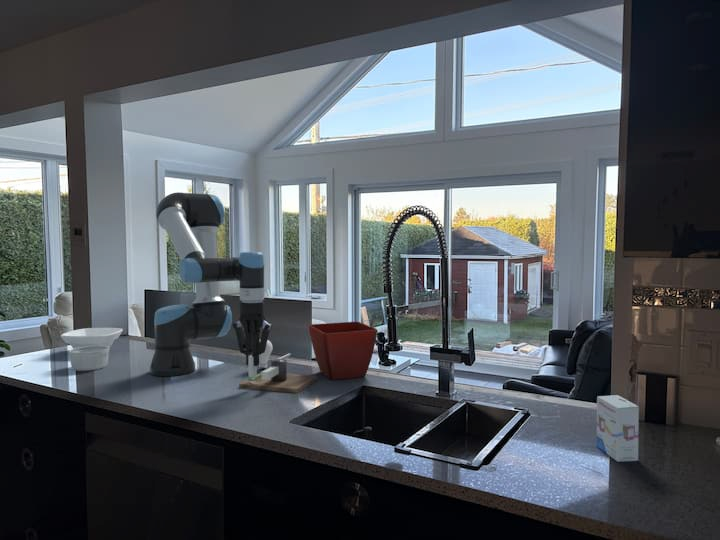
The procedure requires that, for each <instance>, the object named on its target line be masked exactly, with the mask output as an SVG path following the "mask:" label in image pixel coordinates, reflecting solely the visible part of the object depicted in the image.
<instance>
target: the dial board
mask: <svg viewBox="0 0 720 540" xmlns="http://www.w3.org/2000/svg"><path fill="white" fill-rule="evenodd" d="M317 377H318V376H317V375H309V374H308V375H307V374H294V373H287V379H286V380H283V381H273V380H271V378H270V379H268V380H262V371H261V372H260V373H257V375H256V376H254V377H249V378H248V379H246V380H244V381H242V382H240V383H239V384H238V388H243V389H250V390H251V389H252V390H253V389H254V390H262V391H263V390H265V391H272V392H284V393H295V394H298V393H299V392H301V391H302V390H303V389H305V388H307V387H308V386H310V385H311V384H312V383H314V382H315V381H317V379H318V378H317Z"/></svg>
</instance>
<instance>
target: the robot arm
mask: <svg viewBox="0 0 720 540" xmlns="http://www.w3.org/2000/svg"><path fill="white" fill-rule="evenodd" d="M155 212H156V214H155V216H156V217H155V218H156V221H157V222H158V224H159V227H161V228H162V229H163V230H165V232H166V234H167V235H168V238H169V240H170V241H171V243H172V245H173V247H174V249H175V251H176V253H177V255H178V257H179V259H180V262H179V265H178V273H179V278H180V280H181V281H182V282H184V283H187V284H188V283H189V284H190V283H192V284H195V285H194V286H195V299H194V300H193V302H192V304H191V305H192V307H190V305H189V304H186V303H183V304H173V305H168V306H164V307H160V308H159V309H157V310H156V311H155V313H154V320H153V321H154V322H153V325H154V354H153V357H152V360H151V364H150V367H149V374H150V375H151V376H156V377H177V376H183V375H188V374H191V373H194V372H195V371H196V362H195V359H194V357H193V354H192V352H191V348H190V346H191V345H190V343H191V341H196V340H205V339H216V338H219V337H224V336H226V335H227V334H228V333H229V331H230V329H231V326H232V327H233V328H234V329H233V330H234V332H235V335H236V339H237V342H238V343H237V344H238V347H239V352H240V354H244V355H245V360H246V362H245V366H247V367H248V377H249V378H251V377H254V376H256V375H257V374H258V367H259V366H260V364H259V363H260V362H259V355H260V354H262V353H264V352H265V349H266V344H267V340H269V339H268V338H269V333H270V330H271V329H272V327H273V323H268V321H266V318H265V302H264V300H265V261H264V254H263V253H262V252H260V251H241V252H239V253H240V254H239V255H238V257H235V256H234V257H233V256H232V257H218V248H217V246H218V245H217V234H216V233H217V232H218V231H219V230H220V226H221V225H223V223H224V222H225V215H226V214H225V208H224V204H223V201H222V200H221V199H220V197H218V196H217V195H214V194H207V193H192V192H191V193H190V192H178V191H177V192H173V193H170V194H168V195H165V196H164V197H163V198H162V199H161V200H160V201H159V203H158V205H157V207H156V210H155ZM220 282H239V300H240V301H241V302H239V313H240V315H239V319H238V321H236V322H233V323H232V321H233V320H232V319H233V316H232V315H233V314H232V313H233V312H232V310H231V307H230V306H229V305H227V304H225V302H226V301H225V299H224V298H222V297H221V292H220V291H221V290H220ZM261 328H262V331H261ZM260 335H261V337H260ZM260 339H261V340H260Z"/></svg>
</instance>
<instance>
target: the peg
mask: <svg viewBox="0 0 720 540" xmlns="http://www.w3.org/2000/svg"><path fill="white" fill-rule="evenodd" d="M291 355H292V353H287V354H285V355H283V356H280V357H278V358H275V359H272V360H270V367H267V369H266V368H265V369H263V370H262V371H261V372H262V380H268V379H270V378H271V380H273V381H283V380H286V379H287V374H288V373H287V371H288V370H287V369H288V367H287V366H288V363H287V362H288V361H287V359H286V358H289V357H291Z"/></svg>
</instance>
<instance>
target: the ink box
mask: <svg viewBox="0 0 720 540" xmlns="http://www.w3.org/2000/svg"><path fill="white" fill-rule="evenodd" d="M639 408H640V407H639V405H637V404H635V403H633V402H631V401H629V400H628V399H626V398H624V397H622V396H621V395H617V394H615V395H597V397H596V447H597V448H598V449H600V450H601V451H602V452H604V453H605V454H607V456H609V457H611V458H612V460H613V459H614V460H615V461H616V462H621V463H622V462H637V461H639V428H640V427H639V417H640V415H639V414H640V413H639V412H640V409H639Z"/></svg>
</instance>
